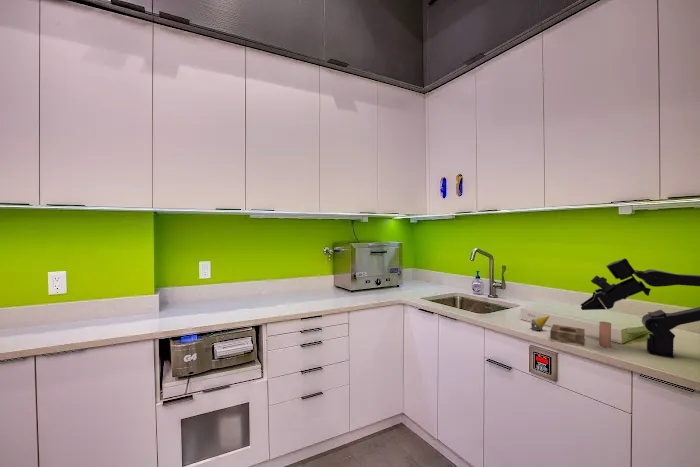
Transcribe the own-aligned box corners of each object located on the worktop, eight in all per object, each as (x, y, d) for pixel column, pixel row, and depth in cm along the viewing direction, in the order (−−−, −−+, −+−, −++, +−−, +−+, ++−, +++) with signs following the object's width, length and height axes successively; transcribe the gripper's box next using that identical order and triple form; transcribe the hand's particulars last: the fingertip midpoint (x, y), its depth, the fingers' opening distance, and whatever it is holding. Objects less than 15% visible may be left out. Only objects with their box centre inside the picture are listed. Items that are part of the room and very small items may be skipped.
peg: (610, 345, 126) (611, 322, 126) (611, 348, 123) (611, 324, 123) (598, 343, 128) (599, 320, 128) (599, 346, 125) (599, 323, 125)
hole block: (584, 338, 134) (584, 329, 134) (583, 346, 125) (583, 336, 125) (553, 333, 141) (553, 324, 141) (550, 340, 132) (550, 330, 132)
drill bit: (531, 328, 150) (549, 315, 147) (537, 336, 145) (556, 323, 142) (524, 322, 148) (542, 308, 145) (530, 330, 144) (549, 316, 141)
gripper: (607, 270, 134) (569, 287, 142) (611, 272, 119) (567, 291, 126) (626, 294, 131) (586, 311, 138) (632, 299, 115) (586, 318, 123)
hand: (581, 307), depth 131 cm, fingers open, 9 cm apart
